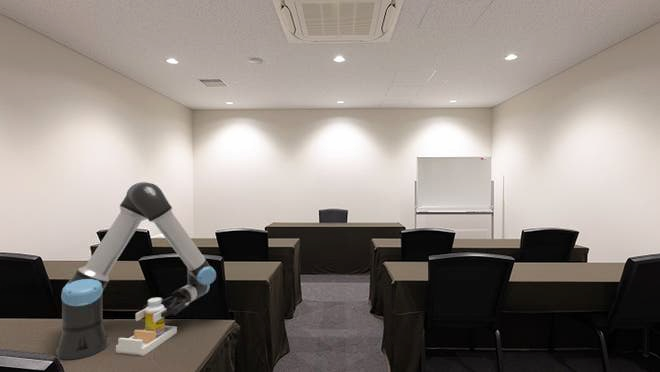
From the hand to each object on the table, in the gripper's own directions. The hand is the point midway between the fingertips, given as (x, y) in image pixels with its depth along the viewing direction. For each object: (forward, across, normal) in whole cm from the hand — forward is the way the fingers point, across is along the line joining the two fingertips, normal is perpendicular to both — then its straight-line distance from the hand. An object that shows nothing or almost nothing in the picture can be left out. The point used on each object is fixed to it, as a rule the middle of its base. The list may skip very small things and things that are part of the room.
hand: (145, 317), depth 127 cm
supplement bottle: (-5, 0, -8) cm, 9 cm away
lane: (-1, 0, -10) cm, 10 cm away
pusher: (0, 0, -9) cm, 9 cm away
